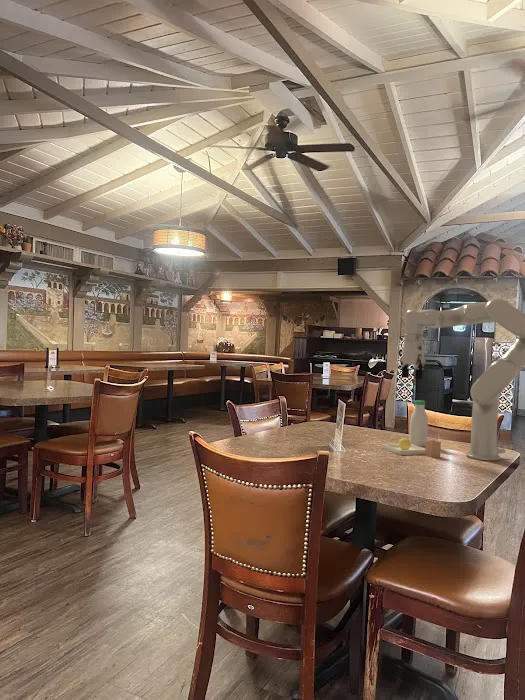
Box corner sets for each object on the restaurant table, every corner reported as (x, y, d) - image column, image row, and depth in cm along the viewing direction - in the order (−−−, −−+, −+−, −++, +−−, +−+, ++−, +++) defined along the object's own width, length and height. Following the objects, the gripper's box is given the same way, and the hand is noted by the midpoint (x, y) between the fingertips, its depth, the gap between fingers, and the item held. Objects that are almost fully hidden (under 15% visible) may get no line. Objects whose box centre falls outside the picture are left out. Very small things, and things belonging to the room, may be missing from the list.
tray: (409, 447, 223) (409, 443, 223) (429, 454, 210) (429, 449, 210) (381, 448, 219) (381, 443, 219) (399, 455, 205) (400, 450, 205)
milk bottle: (429, 447, 227) (431, 401, 226) (411, 446, 227) (413, 401, 227) (424, 443, 234) (425, 400, 234) (407, 443, 234) (408, 399, 234)
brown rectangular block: (433, 454, 209) (434, 440, 209) (440, 457, 205) (441, 442, 205) (424, 455, 208) (425, 440, 208) (431, 457, 204) (432, 442, 204)
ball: (406, 448, 217) (406, 436, 218) (413, 450, 213) (413, 438, 213) (396, 449, 216) (396, 437, 216) (403, 451, 211) (403, 438, 211)
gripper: (433, 339, 215) (431, 379, 215) (409, 339, 231) (407, 377, 231) (418, 338, 212) (416, 379, 212) (394, 338, 229) (393, 376, 229)
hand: (411, 378), depth 222 cm, fingers open, 9 cm apart
